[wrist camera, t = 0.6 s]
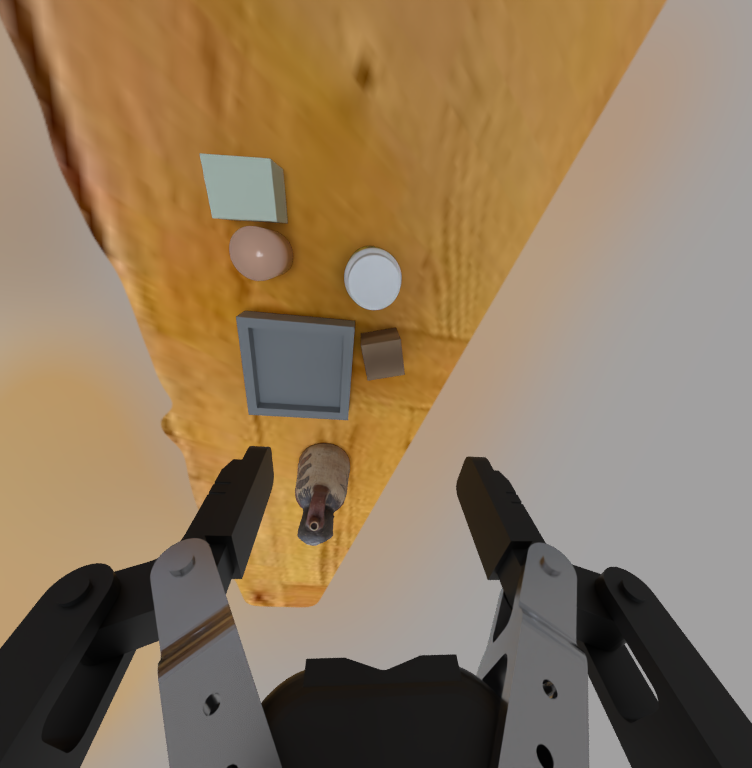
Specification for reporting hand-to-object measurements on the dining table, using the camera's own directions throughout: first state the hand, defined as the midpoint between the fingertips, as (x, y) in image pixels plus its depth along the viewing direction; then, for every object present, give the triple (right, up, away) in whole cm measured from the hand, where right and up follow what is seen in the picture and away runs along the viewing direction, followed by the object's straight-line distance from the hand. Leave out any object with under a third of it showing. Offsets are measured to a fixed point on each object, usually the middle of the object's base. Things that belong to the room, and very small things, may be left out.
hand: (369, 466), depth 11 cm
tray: (-8, +6, +21) cm, 23 cm away
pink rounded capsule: (-10, +16, +15) cm, 24 cm away
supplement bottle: (0, +15, +17) cm, 22 cm away
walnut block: (+1, +8, +21) cm, 22 cm away
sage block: (-10, +20, +13) cm, 26 cm away
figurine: (-7, -8, +28) cm, 30 cm away
